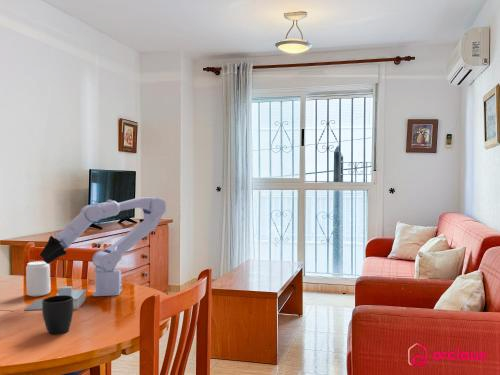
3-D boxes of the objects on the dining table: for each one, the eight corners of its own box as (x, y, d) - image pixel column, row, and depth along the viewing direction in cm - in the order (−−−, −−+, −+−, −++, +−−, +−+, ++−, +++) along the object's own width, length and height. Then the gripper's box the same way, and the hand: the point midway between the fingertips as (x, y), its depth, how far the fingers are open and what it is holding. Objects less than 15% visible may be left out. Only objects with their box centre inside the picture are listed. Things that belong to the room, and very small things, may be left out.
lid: (86, 291, 171) (86, 279, 171) (77, 300, 159) (77, 288, 159) (61, 292, 170) (61, 280, 170) (50, 302, 158) (50, 289, 158)
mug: (72, 321, 146) (71, 291, 146) (74, 333, 135) (73, 300, 135) (43, 325, 143) (42, 294, 143) (43, 338, 132) (42, 304, 132)
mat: (59, 299, 172) (59, 298, 172) (48, 309, 160) (48, 308, 160) (36, 300, 172) (36, 299, 172) (23, 310, 159) (23, 309, 159)
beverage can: (54, 291, 183) (53, 260, 183) (43, 297, 175) (42, 265, 175) (34, 291, 184) (33, 260, 184) (22, 297, 176) (21, 264, 176)
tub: (85, 299, 171) (85, 291, 171) (77, 309, 159) (77, 300, 159) (62, 300, 170) (62, 292, 170) (52, 310, 158) (52, 301, 158)
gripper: (66, 229, 179) (38, 257, 173) (61, 218, 165) (31, 247, 160) (81, 241, 178) (53, 269, 172) (77, 230, 165) (47, 260, 159)
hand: (43, 259), depth 166 cm, fingers open, 7 cm apart
